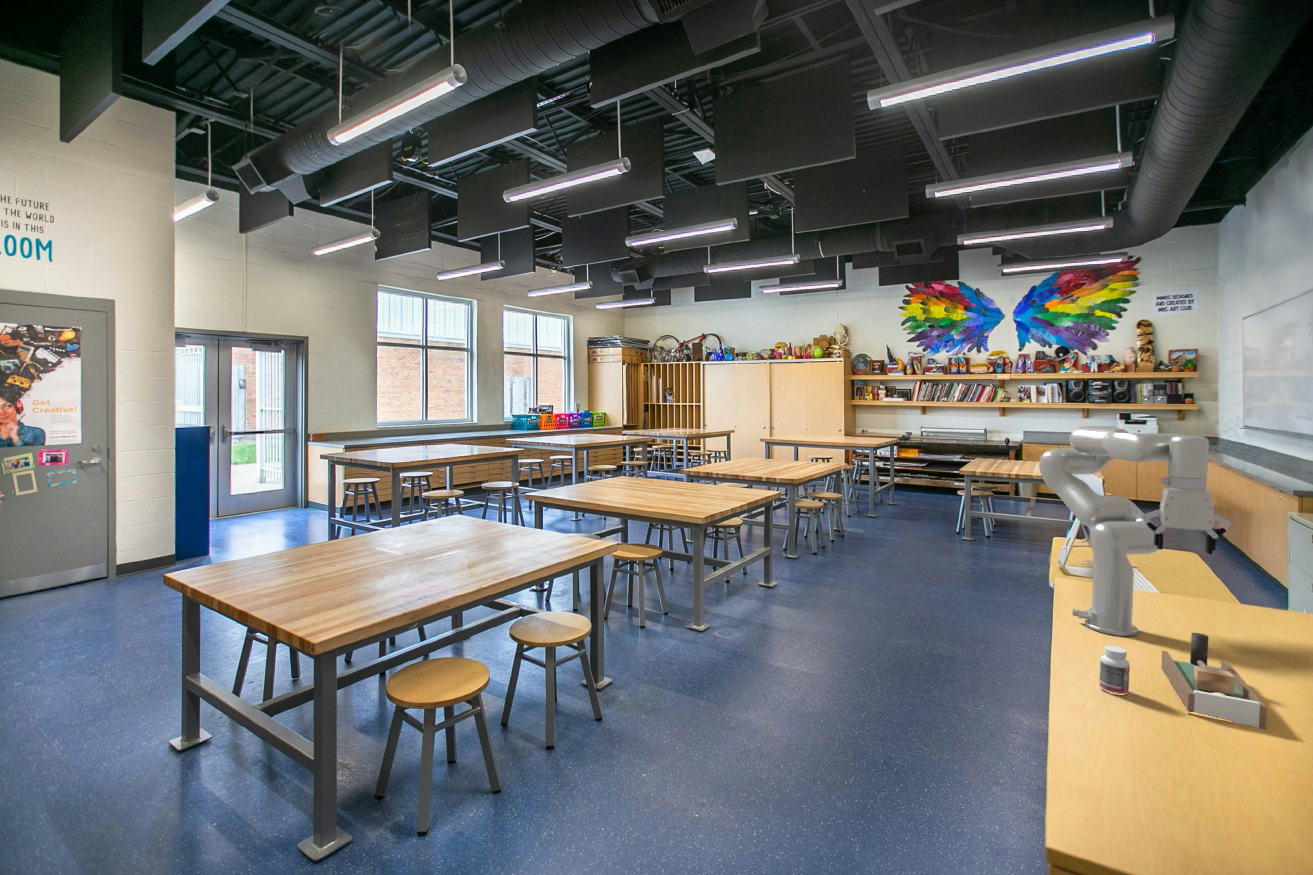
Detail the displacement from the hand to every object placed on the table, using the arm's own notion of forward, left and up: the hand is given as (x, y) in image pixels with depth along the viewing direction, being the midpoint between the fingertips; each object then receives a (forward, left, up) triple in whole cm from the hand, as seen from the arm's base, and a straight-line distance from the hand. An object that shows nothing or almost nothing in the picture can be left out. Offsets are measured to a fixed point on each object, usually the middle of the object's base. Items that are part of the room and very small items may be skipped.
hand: (1183, 550), depth 154 cm
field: (+1, -22, -28) cm, 36 cm away
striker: (+1, -19, -25) cm, 32 cm away
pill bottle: (-17, -30, -28) cm, 45 cm away
